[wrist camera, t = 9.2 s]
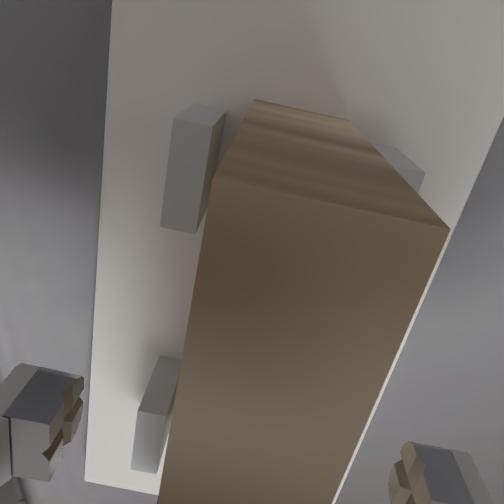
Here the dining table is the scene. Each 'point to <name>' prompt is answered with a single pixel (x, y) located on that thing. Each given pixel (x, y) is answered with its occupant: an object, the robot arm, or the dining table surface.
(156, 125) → the hinge base
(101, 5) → the dining table surface
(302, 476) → the tan flat rectangular block
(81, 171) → the dining table surface
